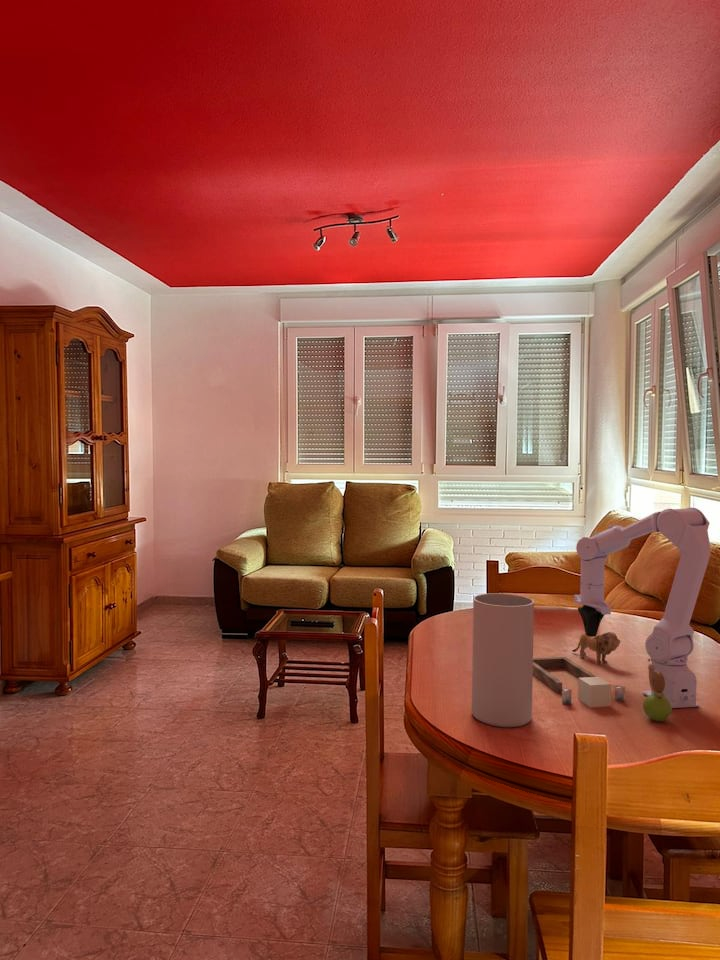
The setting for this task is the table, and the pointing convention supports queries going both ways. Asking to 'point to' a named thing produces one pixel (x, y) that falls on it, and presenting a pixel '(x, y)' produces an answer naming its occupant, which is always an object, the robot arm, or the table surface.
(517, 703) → the cylinder vase
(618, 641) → the lion figurine
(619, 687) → the posts
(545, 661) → the stall
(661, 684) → the snail figurine
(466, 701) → the table surface
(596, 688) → the cube
